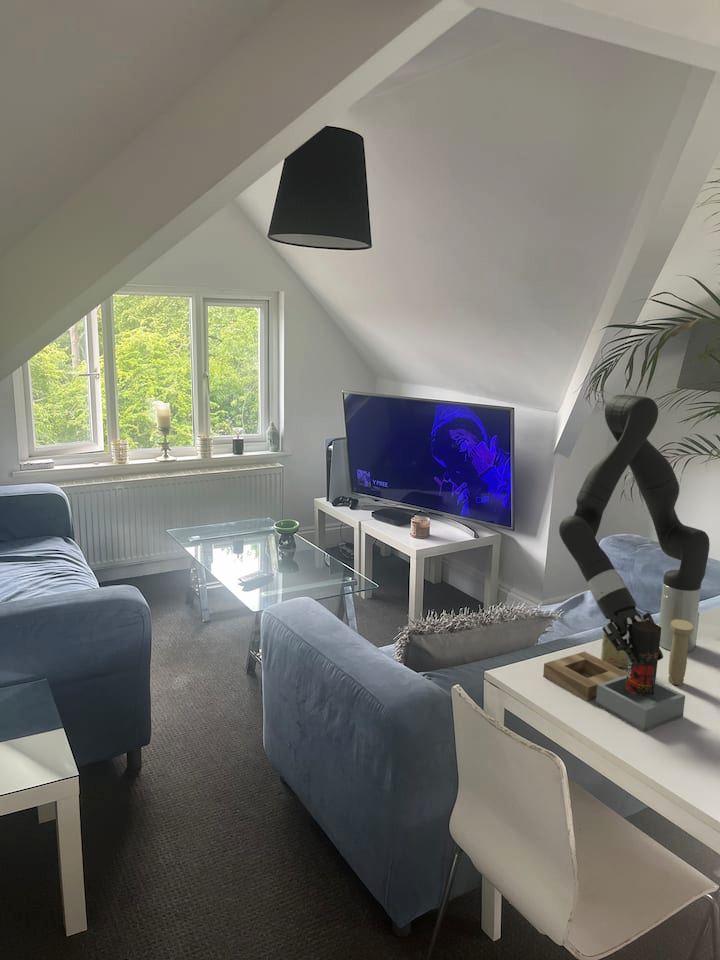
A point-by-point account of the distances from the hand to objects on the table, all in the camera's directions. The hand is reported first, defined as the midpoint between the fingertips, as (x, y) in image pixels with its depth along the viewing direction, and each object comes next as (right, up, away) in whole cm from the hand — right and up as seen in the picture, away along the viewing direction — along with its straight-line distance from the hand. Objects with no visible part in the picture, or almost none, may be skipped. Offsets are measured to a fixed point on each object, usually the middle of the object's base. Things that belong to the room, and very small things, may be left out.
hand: (649, 662), depth 157 cm
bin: (-1, -12, +4) cm, 12 cm away
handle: (+13, -9, +17) cm, 24 cm away
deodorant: (-1, -7, +3) cm, 8 cm away
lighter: (+2, -7, +27) cm, 28 cm away
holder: (-9, -9, +17) cm, 21 cm away
